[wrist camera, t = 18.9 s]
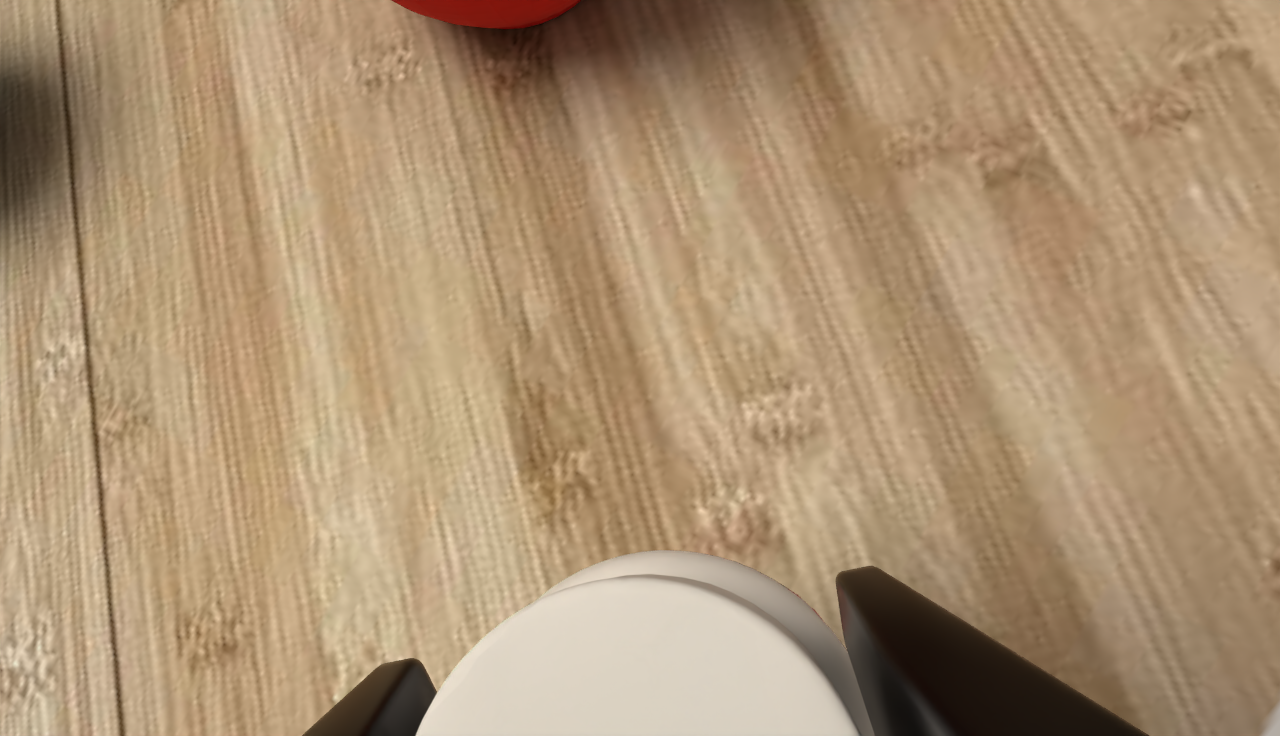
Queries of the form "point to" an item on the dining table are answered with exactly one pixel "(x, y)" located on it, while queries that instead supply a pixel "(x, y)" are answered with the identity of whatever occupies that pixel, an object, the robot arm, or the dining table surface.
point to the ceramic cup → (490, 11)
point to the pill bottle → (656, 659)
